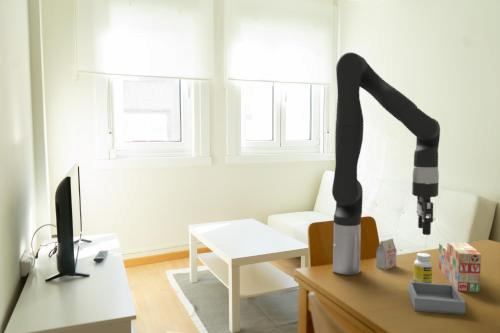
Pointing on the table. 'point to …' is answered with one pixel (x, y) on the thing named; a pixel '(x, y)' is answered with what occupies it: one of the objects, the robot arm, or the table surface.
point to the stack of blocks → (460, 265)
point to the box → (436, 298)
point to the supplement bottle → (423, 268)
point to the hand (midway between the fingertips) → (424, 231)
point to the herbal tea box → (386, 255)
